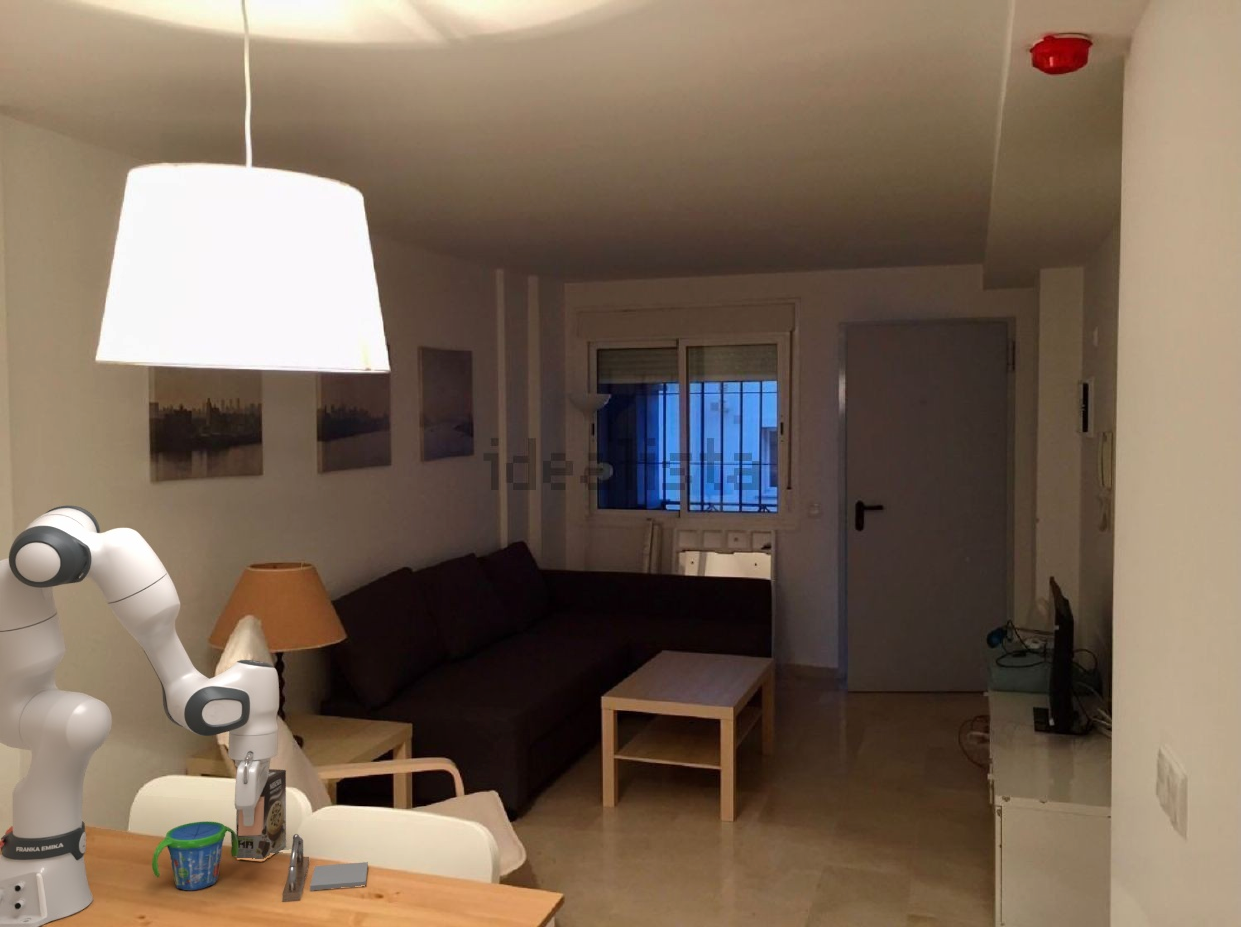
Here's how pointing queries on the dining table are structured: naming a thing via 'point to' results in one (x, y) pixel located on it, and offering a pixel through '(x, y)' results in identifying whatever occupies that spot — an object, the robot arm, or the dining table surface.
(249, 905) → the dining table surface
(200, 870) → the snack cup
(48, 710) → the robot arm
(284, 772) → the coffee box
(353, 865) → the mat
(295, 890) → the metal door handle
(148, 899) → the dining table surface
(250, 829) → the block
